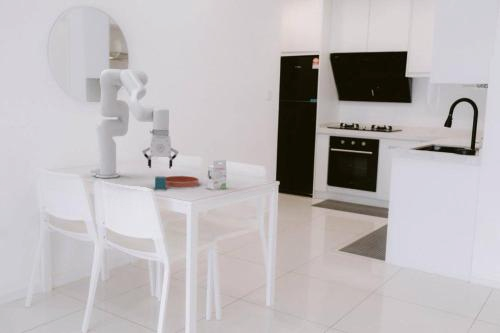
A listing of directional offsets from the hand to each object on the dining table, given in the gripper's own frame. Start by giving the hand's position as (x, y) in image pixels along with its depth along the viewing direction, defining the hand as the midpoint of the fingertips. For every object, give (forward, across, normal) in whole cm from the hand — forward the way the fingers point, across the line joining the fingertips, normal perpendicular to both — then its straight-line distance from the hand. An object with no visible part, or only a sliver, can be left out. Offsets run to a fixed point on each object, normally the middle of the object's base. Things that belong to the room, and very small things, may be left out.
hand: (160, 167), depth 232 cm
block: (+11, 0, -1) cm, 11 cm away
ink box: (+10, +28, +1) cm, 30 cm away
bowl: (+11, +10, +11) cm, 19 cm away
